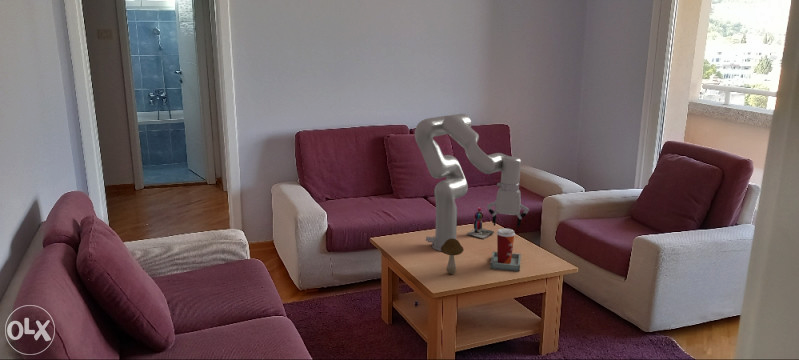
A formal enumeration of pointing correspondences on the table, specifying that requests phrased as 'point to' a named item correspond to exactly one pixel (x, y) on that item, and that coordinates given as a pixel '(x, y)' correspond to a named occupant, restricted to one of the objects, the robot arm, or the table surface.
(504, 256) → the paper cup
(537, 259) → the table surface
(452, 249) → the mushroom
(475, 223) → the statue
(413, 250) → the table surface
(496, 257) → the tray
